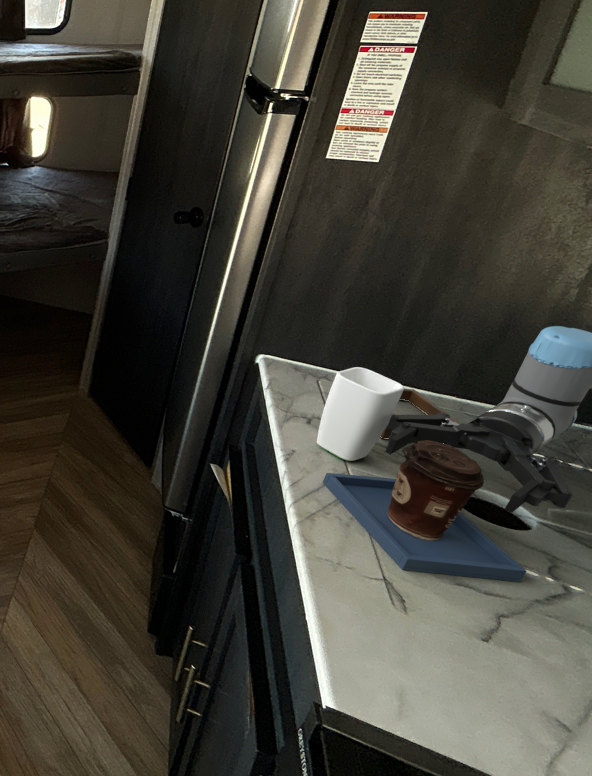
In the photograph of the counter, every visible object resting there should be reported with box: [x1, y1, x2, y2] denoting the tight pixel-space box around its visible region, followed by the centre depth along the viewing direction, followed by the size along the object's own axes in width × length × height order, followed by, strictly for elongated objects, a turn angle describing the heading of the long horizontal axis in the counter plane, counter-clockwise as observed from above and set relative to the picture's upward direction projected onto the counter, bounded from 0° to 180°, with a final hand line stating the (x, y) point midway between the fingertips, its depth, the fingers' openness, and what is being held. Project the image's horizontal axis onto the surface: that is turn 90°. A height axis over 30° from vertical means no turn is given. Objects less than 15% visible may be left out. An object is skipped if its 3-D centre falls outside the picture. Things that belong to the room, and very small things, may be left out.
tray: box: [322, 472, 527, 583], centre depth 95 cm, size 18×15×2 cm
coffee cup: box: [387, 440, 485, 541], centre depth 92 cm, size 9×8×13 cm
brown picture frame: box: [379, 388, 462, 446], centre depth 120 cm, size 15×15×2 cm
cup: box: [316, 366, 405, 462], centre depth 109 cm, size 7×7×15 cm
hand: (447, 473), depth 92 cm, fingers open, 13 cm apart
